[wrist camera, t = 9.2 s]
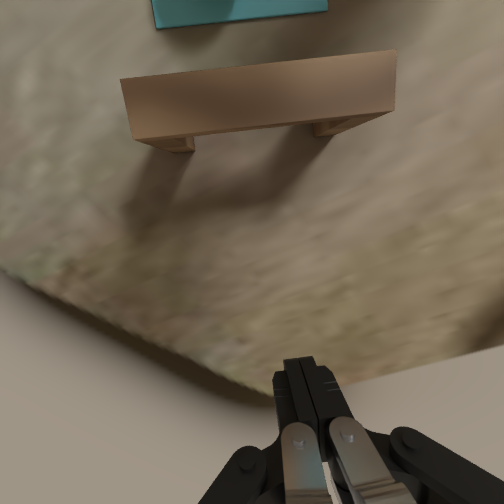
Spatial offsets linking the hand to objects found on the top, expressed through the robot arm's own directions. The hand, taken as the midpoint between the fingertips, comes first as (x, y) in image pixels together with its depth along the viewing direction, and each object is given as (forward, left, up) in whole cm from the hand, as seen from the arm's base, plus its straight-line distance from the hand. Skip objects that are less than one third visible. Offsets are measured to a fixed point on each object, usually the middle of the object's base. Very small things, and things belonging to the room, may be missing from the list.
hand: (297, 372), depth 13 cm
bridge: (-14, 0, -15) cm, 21 cm away
